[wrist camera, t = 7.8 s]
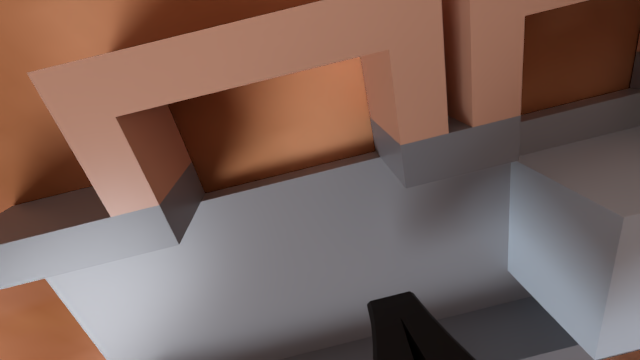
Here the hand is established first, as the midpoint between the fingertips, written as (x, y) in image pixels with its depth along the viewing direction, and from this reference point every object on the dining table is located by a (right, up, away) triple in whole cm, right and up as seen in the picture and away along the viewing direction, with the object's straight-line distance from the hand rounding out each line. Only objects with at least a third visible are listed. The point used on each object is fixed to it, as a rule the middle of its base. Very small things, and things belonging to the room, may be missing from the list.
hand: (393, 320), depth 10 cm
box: (0, +3, +2) cm, 4 cm away
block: (+7, +3, +2) cm, 8 cm away
